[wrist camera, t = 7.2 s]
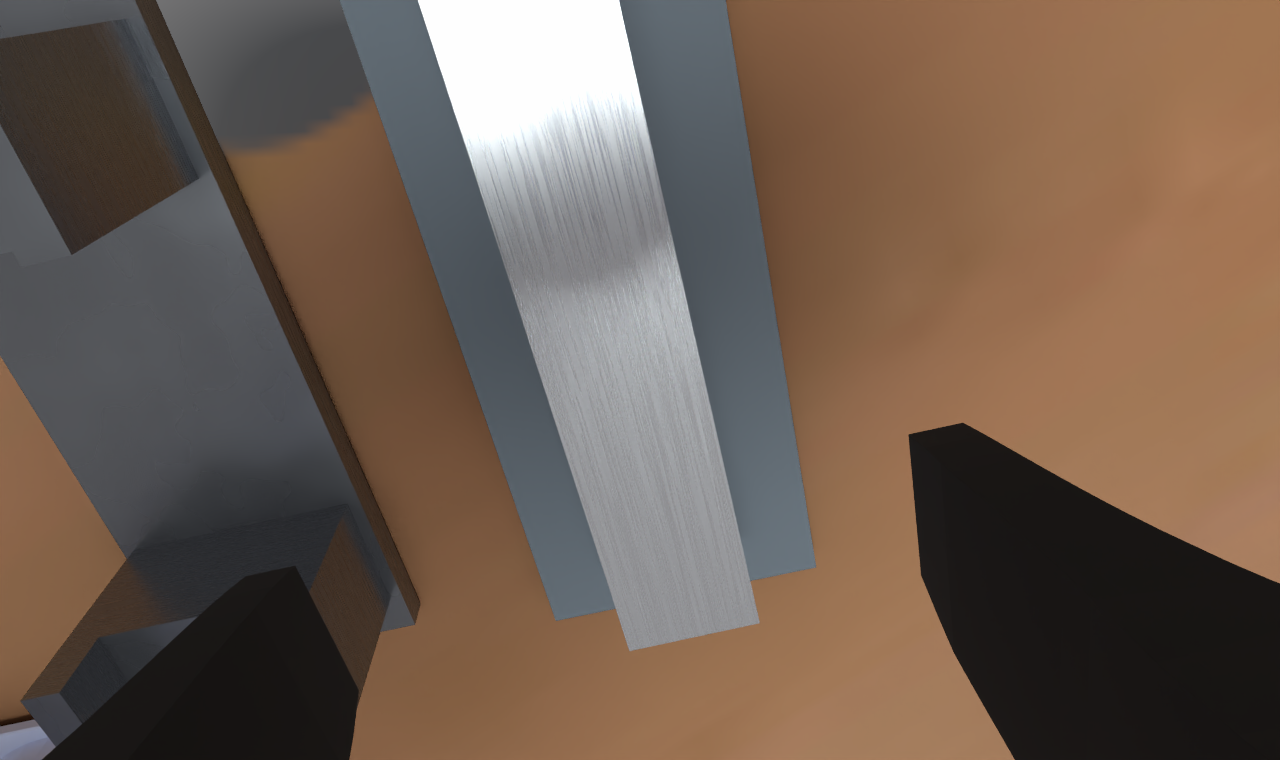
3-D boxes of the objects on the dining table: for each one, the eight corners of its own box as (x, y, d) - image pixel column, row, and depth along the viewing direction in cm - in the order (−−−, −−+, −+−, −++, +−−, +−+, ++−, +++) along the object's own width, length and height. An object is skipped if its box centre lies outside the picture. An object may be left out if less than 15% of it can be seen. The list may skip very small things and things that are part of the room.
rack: (420, 603, 23) (374, 780, 18) (208, 648, 23) (107, 834, 19) (135, -46, 16) (-66, -41, 11) (-166, 30, 16) (-491, 68, 11)
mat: (811, 552, 23) (816, 567, 23) (556, 605, 23) (555, 620, 23) (680, -254, 15) (683, -262, 14) (294, -155, 15) (284, -158, 15)
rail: (624, 565, 22) (738, 540, 22) (629, 650, 20) (759, 623, 19) (406, -141, 15) (573, -187, 15) (366, -160, 12) (570, -215, 12)
